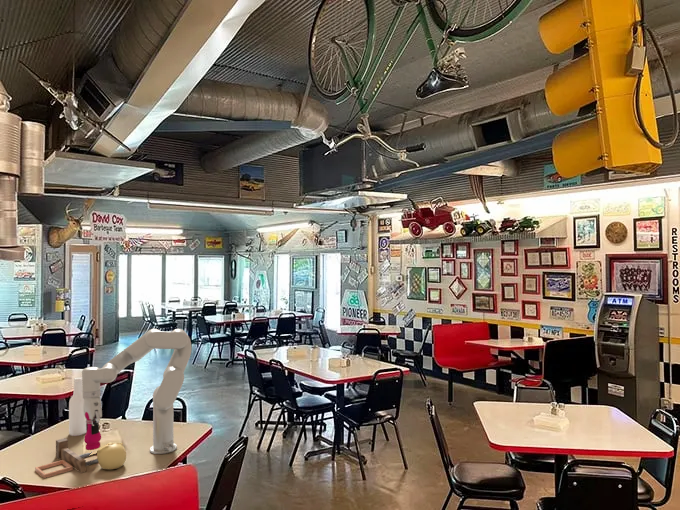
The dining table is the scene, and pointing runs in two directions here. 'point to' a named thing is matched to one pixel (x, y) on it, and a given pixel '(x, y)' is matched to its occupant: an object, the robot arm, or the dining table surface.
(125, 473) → the dining table surface
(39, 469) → the collar
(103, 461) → the pale yellow round fruit
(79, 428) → the alcohol
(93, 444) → the pepper mill
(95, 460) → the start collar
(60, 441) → the door edge board
